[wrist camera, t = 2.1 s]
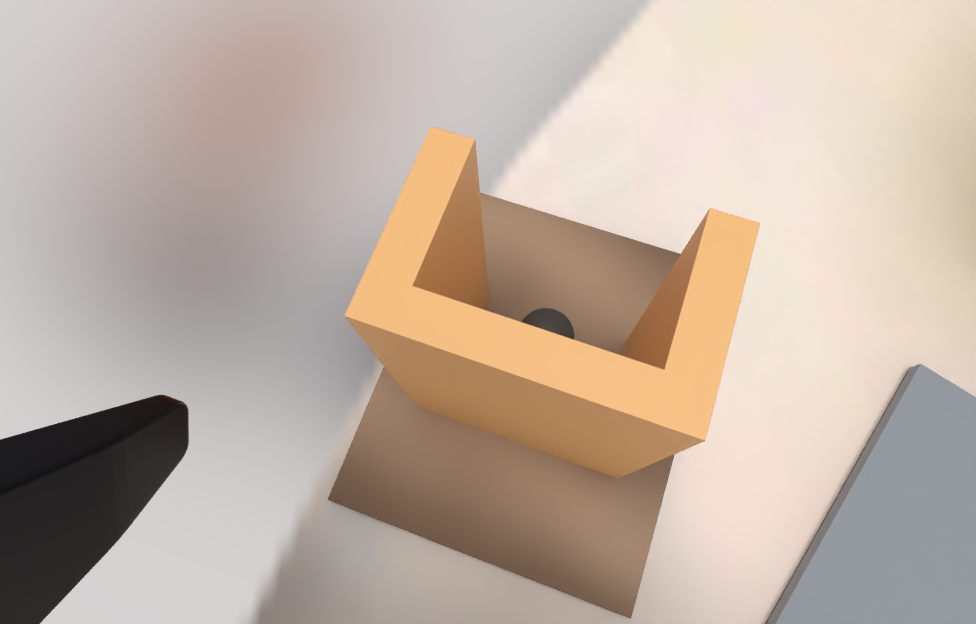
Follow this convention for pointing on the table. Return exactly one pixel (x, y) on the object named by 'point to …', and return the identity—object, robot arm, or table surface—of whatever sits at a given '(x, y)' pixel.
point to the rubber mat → (899, 520)
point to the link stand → (510, 465)
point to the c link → (544, 331)
